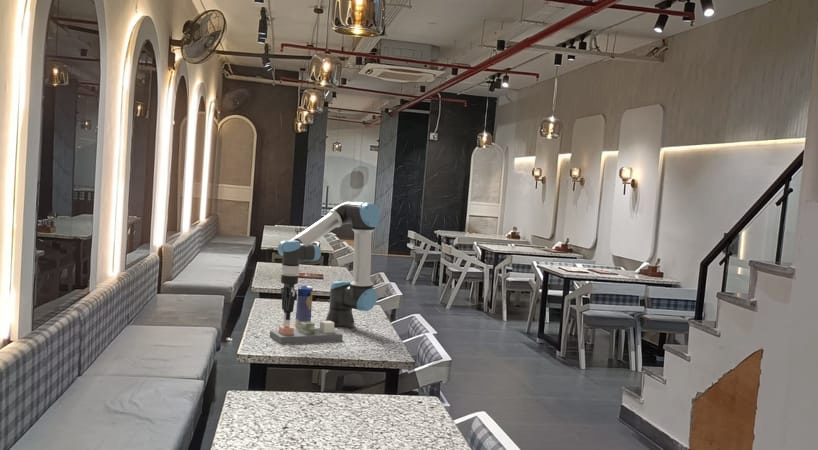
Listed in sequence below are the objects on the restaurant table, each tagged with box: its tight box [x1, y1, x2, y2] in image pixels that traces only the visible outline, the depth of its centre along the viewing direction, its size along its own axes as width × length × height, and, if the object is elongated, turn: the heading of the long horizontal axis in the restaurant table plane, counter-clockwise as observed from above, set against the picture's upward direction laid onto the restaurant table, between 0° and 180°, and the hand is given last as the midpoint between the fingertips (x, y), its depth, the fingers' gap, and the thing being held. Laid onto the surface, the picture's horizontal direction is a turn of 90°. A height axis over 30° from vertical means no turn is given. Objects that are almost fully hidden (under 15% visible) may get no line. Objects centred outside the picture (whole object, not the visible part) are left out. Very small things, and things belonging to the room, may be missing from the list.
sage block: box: [300, 321, 315, 334], centre depth 329 cm, size 5×5×5 cm
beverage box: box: [294, 285, 314, 329], centre depth 346 cm, size 7×11×22 cm, turn 10°
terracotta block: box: [278, 325, 295, 335], centre depth 324 cm, size 5×5×5 cm
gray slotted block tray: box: [269, 327, 344, 345], centre depth 329 cm, size 30×14×4 cm, turn 121°
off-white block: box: [319, 320, 335, 333], centre depth 334 cm, size 5×5×5 cm
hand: (286, 326), depth 323 cm, fingers closed
